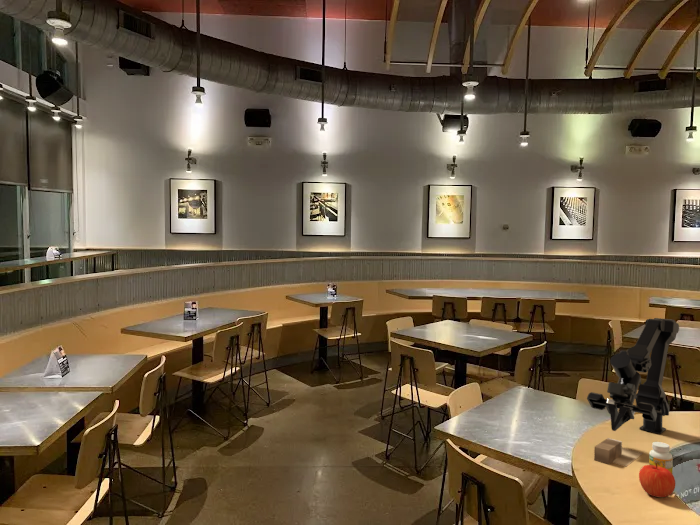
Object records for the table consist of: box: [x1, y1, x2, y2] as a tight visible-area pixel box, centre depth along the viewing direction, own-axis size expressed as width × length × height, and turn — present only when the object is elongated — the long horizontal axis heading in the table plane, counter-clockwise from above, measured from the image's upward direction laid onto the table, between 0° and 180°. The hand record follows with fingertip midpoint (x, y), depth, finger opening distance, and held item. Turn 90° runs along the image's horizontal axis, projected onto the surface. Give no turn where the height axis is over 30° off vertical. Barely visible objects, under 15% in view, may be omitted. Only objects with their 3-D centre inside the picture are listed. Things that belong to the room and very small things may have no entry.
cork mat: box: [611, 446, 644, 467], centre depth 154 cm, size 14×8×1 cm, turn 133°
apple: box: [638, 463, 676, 498], centre depth 130 cm, size 8×8×8 cm
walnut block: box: [593, 437, 623, 465], centre depth 152 cm, size 4×4×10 cm
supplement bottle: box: [648, 441, 674, 475], centre depth 139 cm, size 5×5×10 cm
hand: (613, 430), depth 155 cm, fingers closed
